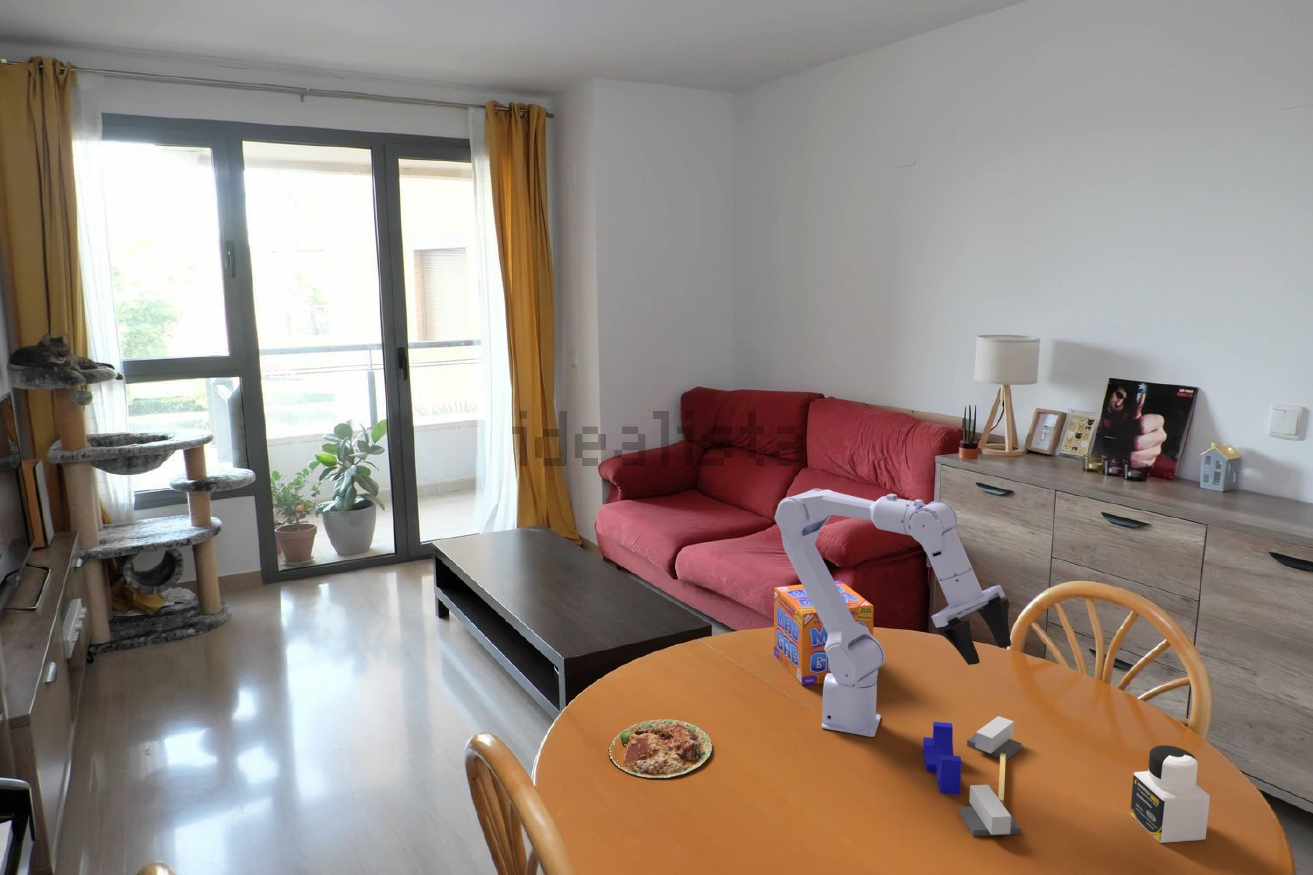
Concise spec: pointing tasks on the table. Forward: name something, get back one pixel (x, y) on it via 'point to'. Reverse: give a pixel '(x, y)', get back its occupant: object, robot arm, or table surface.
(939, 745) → the blue piece
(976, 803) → the shaft rig
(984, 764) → the table surface
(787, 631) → the game box
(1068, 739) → the table surface
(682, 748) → the food
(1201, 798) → the medicine bottle
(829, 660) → the robot arm
